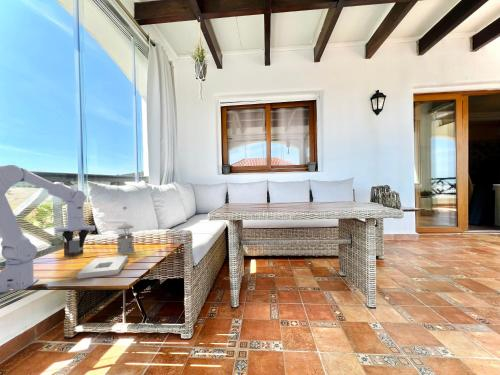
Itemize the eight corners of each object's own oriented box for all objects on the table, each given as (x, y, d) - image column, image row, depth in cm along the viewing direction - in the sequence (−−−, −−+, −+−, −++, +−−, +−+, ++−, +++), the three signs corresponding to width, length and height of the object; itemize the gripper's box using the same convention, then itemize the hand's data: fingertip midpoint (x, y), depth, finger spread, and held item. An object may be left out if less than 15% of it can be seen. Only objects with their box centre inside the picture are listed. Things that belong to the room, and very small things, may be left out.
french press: (114, 255, 121) (112, 207, 121) (117, 250, 132) (116, 206, 132) (135, 253, 125) (134, 206, 125) (136, 248, 136) (135, 205, 136)
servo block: (78, 251, 103) (78, 240, 103) (69, 252, 102) (69, 241, 102) (83, 248, 108) (82, 238, 108) (74, 249, 107) (74, 238, 107)
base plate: (117, 274, 95) (117, 269, 95) (77, 278, 91) (77, 273, 91) (128, 259, 115) (127, 255, 114) (95, 262, 110) (95, 258, 110)
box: (73, 256, 121) (72, 242, 121) (63, 256, 123) (63, 242, 123) (83, 253, 127) (83, 239, 127) (74, 252, 129) (74, 239, 128)
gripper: (97, 215, 111) (97, 243, 111) (60, 216, 106) (61, 246, 107) (91, 217, 104) (92, 247, 104) (52, 219, 100) (53, 250, 100)
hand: (76, 247), depth 105 cm, fingers closed on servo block, 3 cm apart
